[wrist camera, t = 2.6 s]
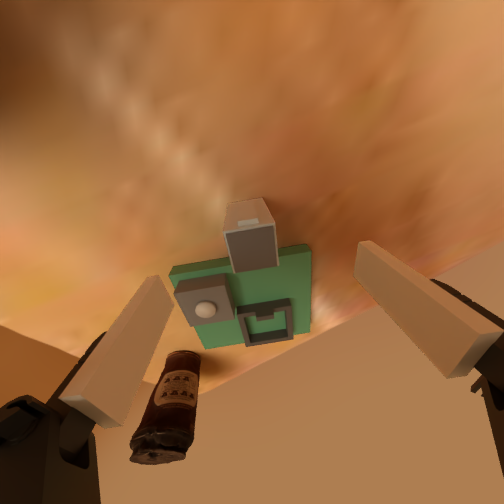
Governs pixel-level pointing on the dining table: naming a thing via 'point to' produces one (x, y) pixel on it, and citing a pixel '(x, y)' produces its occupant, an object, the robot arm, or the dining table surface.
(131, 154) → the dining table surface
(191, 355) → the coffee cup
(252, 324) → the board
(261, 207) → the plug
